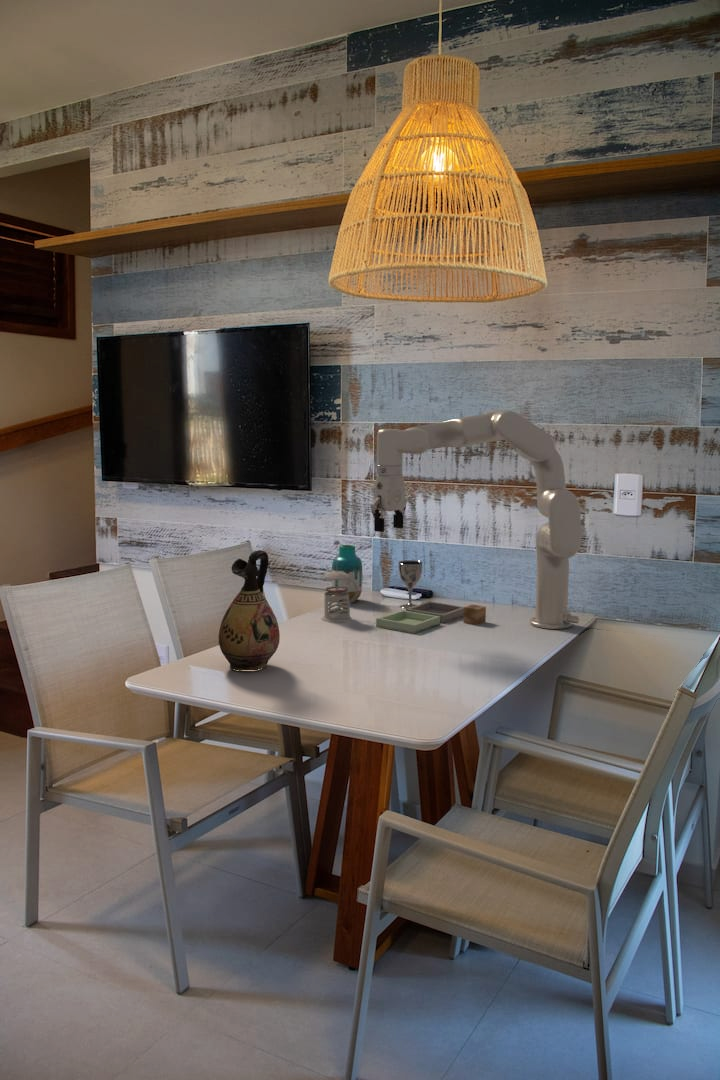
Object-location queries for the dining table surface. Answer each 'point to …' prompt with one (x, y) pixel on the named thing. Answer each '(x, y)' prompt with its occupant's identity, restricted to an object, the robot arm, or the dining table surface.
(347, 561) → the vase
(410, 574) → the wine glass
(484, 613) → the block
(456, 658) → the dining table surface
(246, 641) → the ceramic jug
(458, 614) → the brown square tray
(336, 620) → the french press
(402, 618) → the tray
